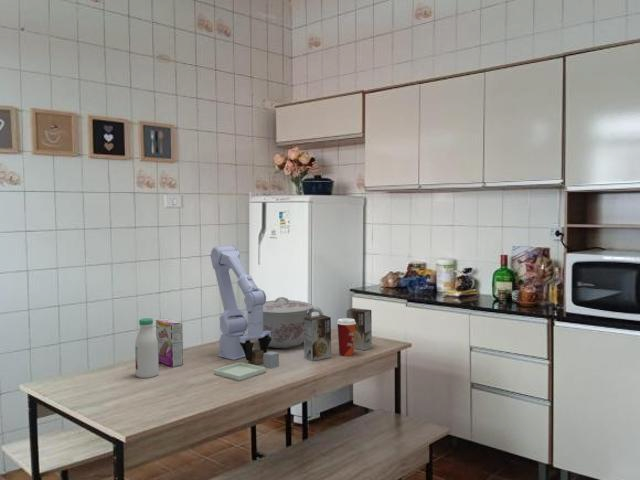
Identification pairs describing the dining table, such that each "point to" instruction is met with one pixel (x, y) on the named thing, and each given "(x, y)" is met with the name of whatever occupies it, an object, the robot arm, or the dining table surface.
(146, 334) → the milk bottle
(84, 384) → the dining table surface
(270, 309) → the chamber pot
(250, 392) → the dining table surface
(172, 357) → the candy bar box
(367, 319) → the coffee box
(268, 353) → the grey block
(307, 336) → the coffee box
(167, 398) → the dining table surface
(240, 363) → the tray
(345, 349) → the paper cup
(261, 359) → the walnut block
